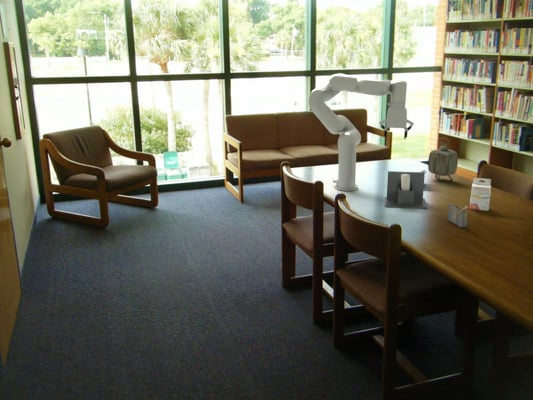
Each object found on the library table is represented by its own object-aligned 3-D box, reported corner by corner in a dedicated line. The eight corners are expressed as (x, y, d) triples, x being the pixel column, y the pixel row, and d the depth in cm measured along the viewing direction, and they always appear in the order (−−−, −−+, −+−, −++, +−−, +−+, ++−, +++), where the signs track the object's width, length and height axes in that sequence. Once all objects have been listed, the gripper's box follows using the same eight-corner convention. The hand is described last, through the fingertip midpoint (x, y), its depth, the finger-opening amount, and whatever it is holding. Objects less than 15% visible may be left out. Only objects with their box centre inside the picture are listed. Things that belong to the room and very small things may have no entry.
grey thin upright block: (467, 227, 236) (469, 206, 233) (460, 228, 235) (462, 206, 232) (453, 219, 246) (454, 199, 244) (447, 220, 246) (448, 199, 243)
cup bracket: (384, 198, 279) (385, 170, 275) (424, 200, 275) (426, 171, 271) (384, 207, 265) (386, 177, 261) (426, 208, 261) (428, 179, 257)
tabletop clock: (456, 181, 310) (459, 138, 303) (445, 183, 306) (449, 140, 298) (435, 176, 322) (438, 135, 315) (425, 178, 317) (428, 137, 310)
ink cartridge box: (469, 209, 259) (472, 179, 255) (469, 206, 264) (472, 177, 260) (488, 210, 257) (492, 181, 252) (488, 208, 261) (491, 178, 257)
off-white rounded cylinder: (399, 198, 267) (400, 175, 264) (403, 197, 270) (403, 173, 267) (407, 199, 265) (407, 176, 262) (410, 198, 268) (411, 174, 265)
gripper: (380, 105, 274) (378, 138, 279) (415, 106, 270) (412, 140, 275) (380, 104, 281) (378, 136, 286) (414, 105, 277) (412, 137, 282)
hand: (395, 138), depth 281 cm, fingers open, 9 cm apart
